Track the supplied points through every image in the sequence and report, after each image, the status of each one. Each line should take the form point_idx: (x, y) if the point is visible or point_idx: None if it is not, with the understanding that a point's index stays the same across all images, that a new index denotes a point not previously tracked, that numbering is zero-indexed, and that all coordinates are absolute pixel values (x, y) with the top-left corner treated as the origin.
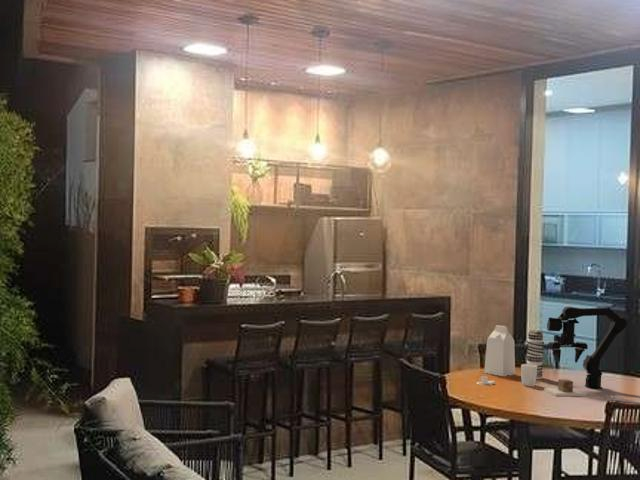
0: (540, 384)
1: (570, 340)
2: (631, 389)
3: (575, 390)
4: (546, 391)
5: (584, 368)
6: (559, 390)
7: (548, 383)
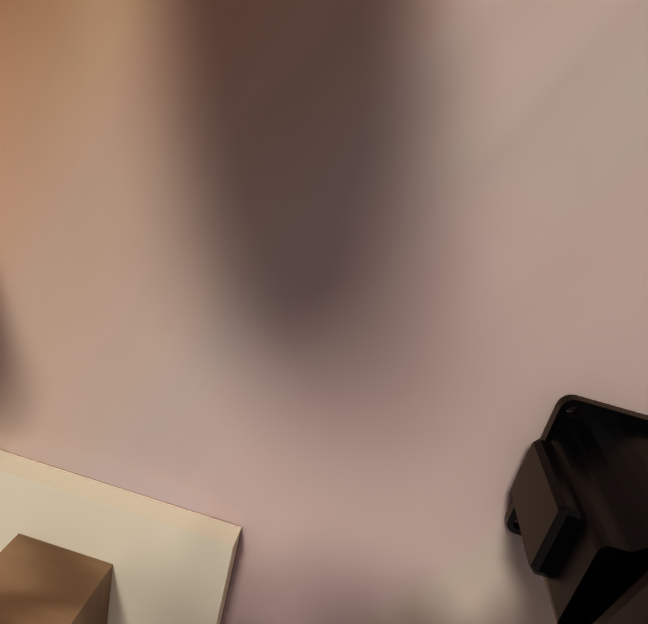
0: (41, 131)
1: None
2: None
3: (169, 609)
4: None
5: (612, 614)
6: None
7: (186, 92)
